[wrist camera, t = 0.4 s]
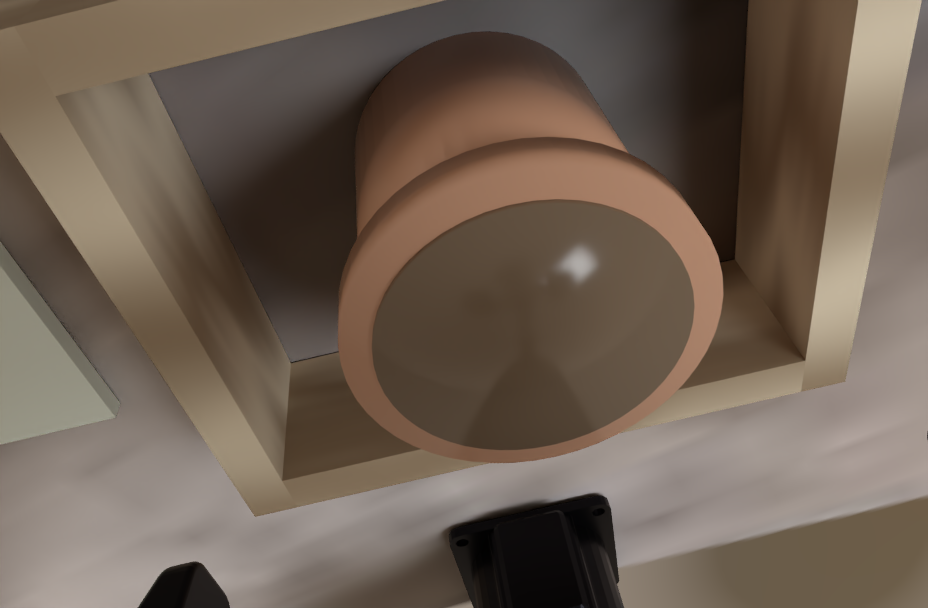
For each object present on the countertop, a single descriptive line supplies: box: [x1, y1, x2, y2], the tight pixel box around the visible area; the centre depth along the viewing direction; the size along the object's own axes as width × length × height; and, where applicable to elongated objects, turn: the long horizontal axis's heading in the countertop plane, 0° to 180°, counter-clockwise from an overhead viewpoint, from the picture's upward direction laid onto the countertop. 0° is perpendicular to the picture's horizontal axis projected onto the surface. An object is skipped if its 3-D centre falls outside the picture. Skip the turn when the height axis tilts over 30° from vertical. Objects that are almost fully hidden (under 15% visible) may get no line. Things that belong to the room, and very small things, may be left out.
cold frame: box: [0, 0, 922, 517], centre depth 18 cm, size 13×16×4 cm
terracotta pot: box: [338, 31, 723, 463], centre depth 17 cm, size 7×7×7 cm
